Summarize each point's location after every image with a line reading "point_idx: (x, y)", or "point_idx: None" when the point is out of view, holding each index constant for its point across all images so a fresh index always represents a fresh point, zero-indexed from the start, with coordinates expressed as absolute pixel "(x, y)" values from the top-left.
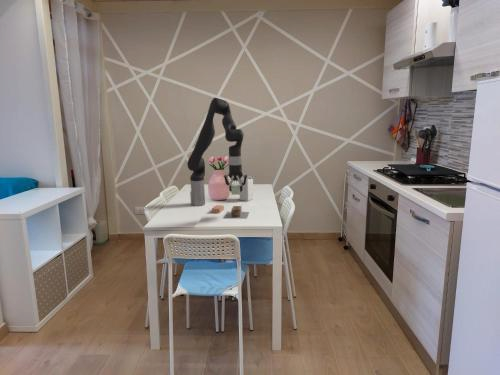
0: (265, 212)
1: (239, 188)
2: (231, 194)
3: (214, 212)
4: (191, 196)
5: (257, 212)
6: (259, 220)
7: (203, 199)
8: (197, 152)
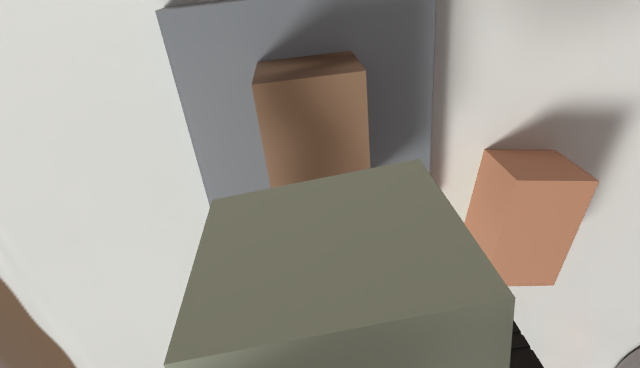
0: (104, 291)
1: (187, 314)
2: (419, 161)
3: (547, 161)
4: None
5: (171, 280)
6: (36, 52)
7: None
8: None
